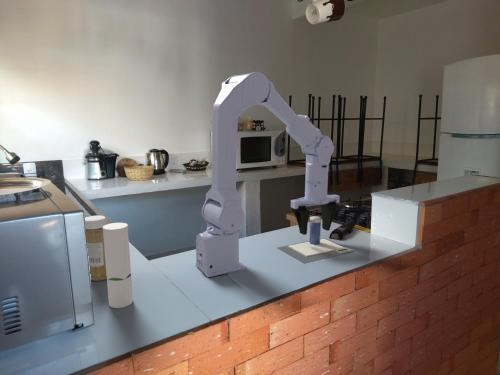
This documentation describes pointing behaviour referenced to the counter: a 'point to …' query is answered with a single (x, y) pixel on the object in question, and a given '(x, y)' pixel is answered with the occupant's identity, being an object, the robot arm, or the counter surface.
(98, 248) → the sprinkles bottle
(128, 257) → the tube
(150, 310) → the counter surface
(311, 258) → the desk mat
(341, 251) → the word tile
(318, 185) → the robot arm
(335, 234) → the electric trimmer
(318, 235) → the marker
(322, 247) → the paper
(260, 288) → the counter surface
